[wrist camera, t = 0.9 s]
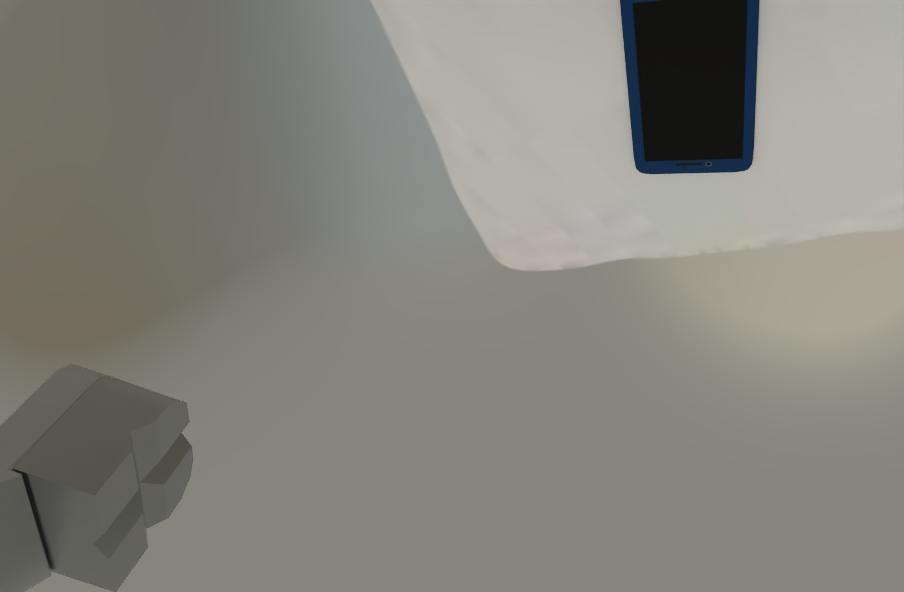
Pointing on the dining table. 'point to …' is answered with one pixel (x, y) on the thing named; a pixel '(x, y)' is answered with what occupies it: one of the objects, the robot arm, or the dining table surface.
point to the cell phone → (691, 83)
